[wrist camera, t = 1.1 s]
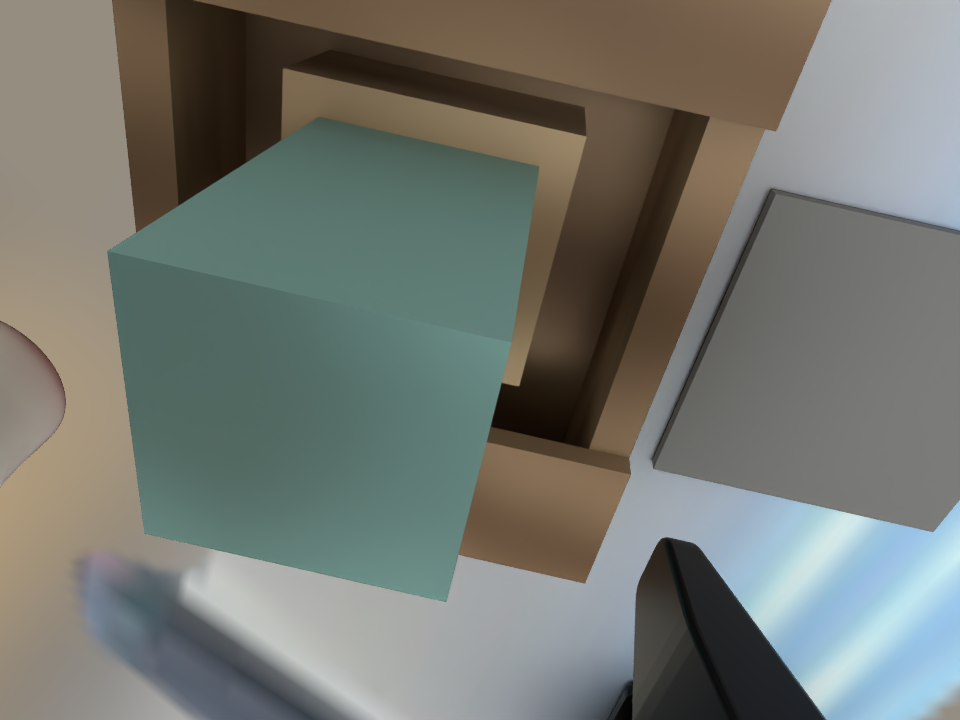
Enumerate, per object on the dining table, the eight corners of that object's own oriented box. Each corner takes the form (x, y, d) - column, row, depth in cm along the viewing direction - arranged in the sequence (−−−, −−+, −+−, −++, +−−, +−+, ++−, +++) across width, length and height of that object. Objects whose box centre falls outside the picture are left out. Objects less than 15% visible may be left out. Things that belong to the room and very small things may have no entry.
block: (494, 354, 15) (446, 602, 10) (308, 311, 15) (144, 533, 10) (539, 166, 13) (511, 342, 7) (318, 116, 13) (107, 251, 7)
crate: (582, 469, 21) (584, 583, 18) (225, 388, 21) (149, 484, 18) (801, -128, 13) (900, -163, 9) (206, -262, 13) (49, -355, 9)
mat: (927, 522, 21) (933, 532, 21) (652, 460, 21) (653, 468, 21) (1130, 269, 16) (1141, 276, 16) (771, 189, 16) (776, 193, 16)
